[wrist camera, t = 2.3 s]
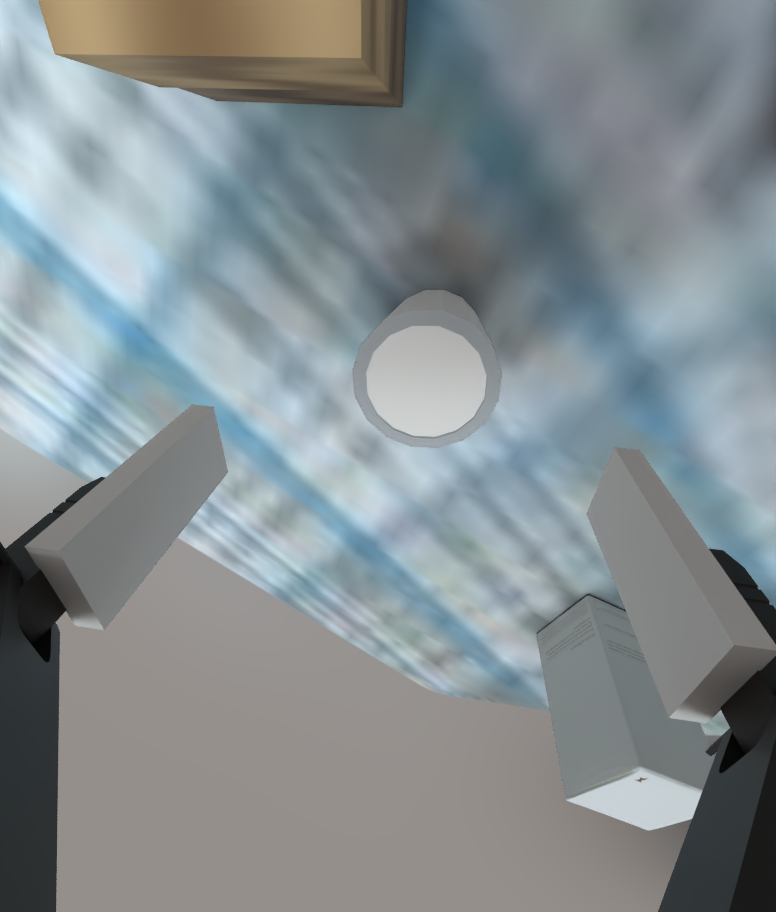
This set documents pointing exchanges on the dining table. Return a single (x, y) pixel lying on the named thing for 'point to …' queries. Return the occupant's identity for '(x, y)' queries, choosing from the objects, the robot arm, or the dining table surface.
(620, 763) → the supplement box
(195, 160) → the dining table surface
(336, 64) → the oak block
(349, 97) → the walnut block
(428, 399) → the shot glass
